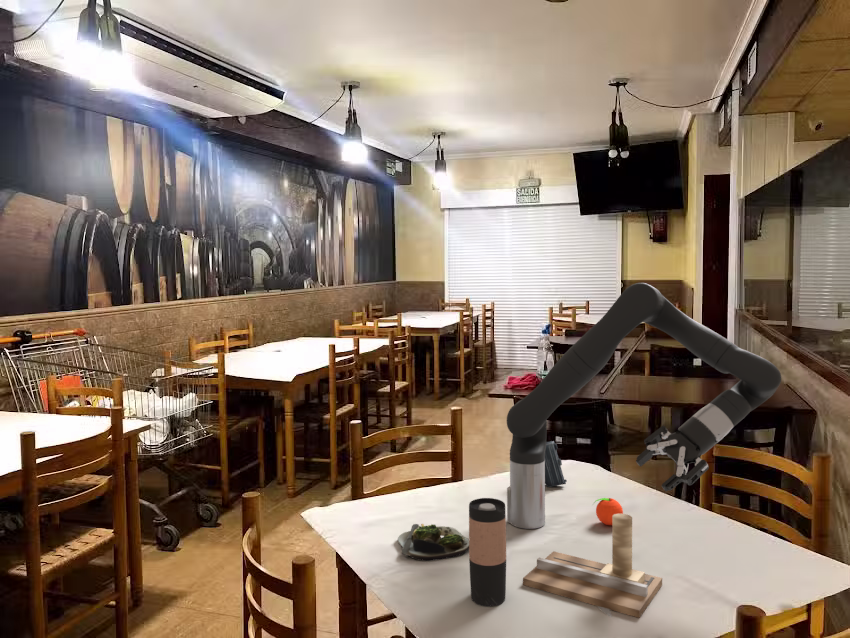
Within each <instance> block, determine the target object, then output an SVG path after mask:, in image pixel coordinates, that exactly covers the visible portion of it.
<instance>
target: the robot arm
mask: <svg viewBox="0 0 850 638" xmlns="http://www.w3.org/2000/svg"><path fill="white" fill-rule="evenodd" d="M642 323H644V324H647V325H649V326H651V327H653V328H656V329H658V330H660V331H661V332H664V333H666V334H667V336H670V337H671V338H672V339H675V340H676V341H677V342H678V343H680V344H681V345H682V346H683V347H684V348H686V349H687V350H688V351H689V352H691V353H692V354H693V355H694V356H696V357H697V358H699V359H700V360H701V361H703V362H704V363H706V364H708V365H709V366H710V367H712V368H713V369H715V370H717V371H718V372H720V373H722V374H724V375H725V374H731V375H732V376H734V377H737V378H738V379H739V381H738V382H737V383H736V384H734V385H733V386H732V387H731V388H728V389H725V390H724V391H722V392H721V393H720V394H718V395H717V396H716V397H715V398H713V400H711V401H710V402H709V403H708V404H706V405H705V406H704V407H702V408H700V409H699V410H698V411H697V412H696V413H694V414H693V415H692V416H691V417H690V418H689V419H687V420H686V421H685V422H684V423H683V424H681V426H679V427H678V429H677V430H676V431H674V432H673V433H671V432H670V431H669V430H668V428H667V427H666V425H662V426H660V427H659V428H658V429H656V430H655V431H654V432H653V433H651V434H650V435H648V436H647V437H646V438H645V439H644V440H643V442H644V445H645V446H646V447H645V450H644V451H642V452H641V453H640V454H638V455H637V457H636V460H635V462H636V464H637V465H638V466H639V467H642V466H644V465H645V464H646V463H647V462H649V460H651V459H652V458H653V457H654V456H657V455H667V457H668V458H669V459H672V460H673V461H674V463H675V464H676V465H677V466H676V467H677V469H676V473H674V474H672V475H671V476H670V477H669V478H668V479H667V480H665V481H664V482H663V483H662V484H661V487H662V489H663V490H664V491H665V492H668V491H670V492H671V491H672V490H673V489H674V488H676V487H677V486H678V485H679V484H681V483H685V484H687V485H688V486H692V485H693V484H694V483H696V482H697V481H698V480H699V479H700V478H701V477H702V476H703V475H704V474H705V473H706V472H707V471H708V470H709V469H710V466H709V464H708V462H707V461H706V459H702V458H701V456H702V455H705V454H706V453H707V452H708V451H710V450H711V449H712V448H713V447H714V446H715V445H716V444H718V443H719V442H720V441H722V440H723V439H724V437H726V436H727V435H728V434H729V433H730V432H731V430H732V429H733V428H734V427H735V426H737V425H738V424H739V423H740V422H742V420H743V419H745V418H746V417H747V416H748V415H749V414H750V412H752V411H754V410H755V409H757V408H759V406H761V405H763V404H764V403H765V402H766V401H768V399H770V398H771V397H772V396H774V394H775V393H776V391H777V390H778V388H779V386H780V385H781V382H782V374H781V370H779V368H778V367H777V366H776V365H775V364H774V363H772V362H771V361H770V360H768V359H766V358H765V357H761V356H760V355H758V354H755V353H753V352H750V351H749V350H746V349H743V348H741V347H739V346H738V345H736V344H735V343H734V342H732V341H730V340H729V339H727V338H726V337H724V336H722V335H721V334H719V333H717V332H715V330H712V329H710V328H709V327H708V326H705V325H704V324H702V323H700V322H698V321H696V320H695V319H693V318H691V317H690V316H688V315H687V314H685V313H684V312H683V311H681V310H680V309H679V308H677V307H676V306H675V305H674V304H673V303H671V301H669V300H668V299H667V298H666V297H665V296H664V294H662V293H661V292H660V290H659V289H657V288H656V287H654V286H653V285H651V284H648V283H645V282H637V283H633V284H631V285H629V286H627V288H624V290H623V292H622V293H620V295H619V296H618V297H617V299H616V300H615V301H614V303H613V304H612V305H611V306H610V308H609V309H608V310H607V312H606V313H605V314H604V315H603V316H602V317H601V319H599V321H598V322H596V323H595V324H594V325H593V326H592V327H591V328H589V329H588V330H587V331H586V332H585V333H584V334H583V335H582V336H581V337H580V338H579V339H578V340H577V341H576V342H575V343H574V344H572V346H571V347H569V349H568V350H566V352H565V353H564V354H563V355H562V356H561V357H560V358H559V359H558V361H557V362H555V364H553V367H552V368H550V370H549V371H548V372H547V374H546V375H545V377H544V378H542V380H541V381H540V383H539V384H538V385H537V386H536V387H535V388H533V390H532V391H531V392H530V393H528V394H527V395H526V396H525V397H524V398H522V399H520V400H519V401H517V402H516V403H515V404H514V405H513V406H511V407H510V408H509V410H508V413H507V416H506V426H507V429H508V431H509V432H510V433H511V435H512V440H511V445H510V448H509V486H508V487H507V488H506V509H507V510H506V512H507V513H506V517H507V518H506V519H507V520H506V521H507V522H506V523H509V524H511V525H512V526H514V527H517V528H520V529H527V530H530V529H531V530H532V529H533V530H534V529H540V528H541V527H544V526H545V524H546V484H545V450H546V442H547V431H548V430H547V425H548V424H547V423H548V422H547V419H549V417H550V416H551V415H552V413H554V411H556V410H557V408H558V407H560V405H562V404H563V403H565V401H567V400H569V399H570V398H571V397H572V396H574V395H575V394H576V393H577V392H579V391H580V390H581V389H582V388H584V387H585V386H586V385H587V384H588V383H589V382H591V380H593V378H594V377H596V375H597V374H599V372H600V371H602V369H604V368H605V366H606V365H607V363H608V362H609V360H610V359H611V357H612V356H613V355H614V352H615V351H616V349H617V348H618V346H619V345H620V343H621V342H622V341H623V340H624V338H626V337H627V336H628V334H630V333H631V332H632V331H633V330H634V329H636V328H637V327H638V326H639V325H641V324H642ZM662 440H666V441H662ZM689 464H694V466H693V468H692V469H690V470H689ZM688 470H689V471H688Z"/></svg>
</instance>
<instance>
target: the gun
mask: <svg viewBox="0 0 850 638" xmlns="http://www.w3.org/2000/svg"><path fill="white" fill-rule="evenodd" d="M557 450H558V444H557V443H555V441H554V440H553V441H552V440H551V441H546V450H545V487H547V488H551V487H556V486H563V485H566V484H567V479H566V478H565V476H564V473H563V470H562V465H563V462H562V459H561V458H559V455H558V452H557Z"/></svg>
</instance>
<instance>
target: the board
mask: <svg viewBox="0 0 850 638" xmlns="http://www.w3.org/2000/svg"><path fill="white" fill-rule="evenodd" d="M606 565H607V563H602V562H599V561H595V560H591V559H586V558H582V557H578V556H573V555H569V554H566V553H562V552H559V551H554V550H553V551H552V552H551V553H550V554H548V556H546V557H545V558H544V557H543V558H541V557H538V558H536V566H534V568H533V569H531V570H530V571H529V572H528V573H527V574H526V575H525V576H523V578H522V585H523V586H526V587H530V588H532V589H536V590H540V591H542V592H543V591H544V592H547V593H551V594H553V595H558V596H561V597H565V598H568V599H572V600H575V601H578V602H582V603H586V604H589V605H593V606H595V607H597V606H599V607H604V608H608V609H610V611H612V612H616V613H617V612H618V613H621V614H624V615H628V616H631V617H635V618H638V619H640V618H641V617H642V615H643V613H645V610H647V608H648V606H649V605H650V604H651V602H652V600H653V599H654V597H655V596H656V595H657V593H658V592H659V590H660V589H661V588H662V586H663V577H659V576H656V575H651V574H647V573H645V582H644V583H643V584H641V583H637V582H633V581H629V580H625V579H621V578H618V577H614V576H610V575H606V574H602V573H600V571H601V570H602V569H603V568H604V567H605V566H606Z"/></svg>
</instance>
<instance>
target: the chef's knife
mask: <svg viewBox="0 0 850 638" xmlns="http://www.w3.org/2000/svg"><path fill="white" fill-rule="evenodd" d="M596 607H597V608H598V609H599V610H600V611H601V612H602V613H603V614H605V615H607V616H608V617H609V618H612V617H613V614H612V611H611V610H610V609H608V608H604V607H599V606H596Z"/></svg>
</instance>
